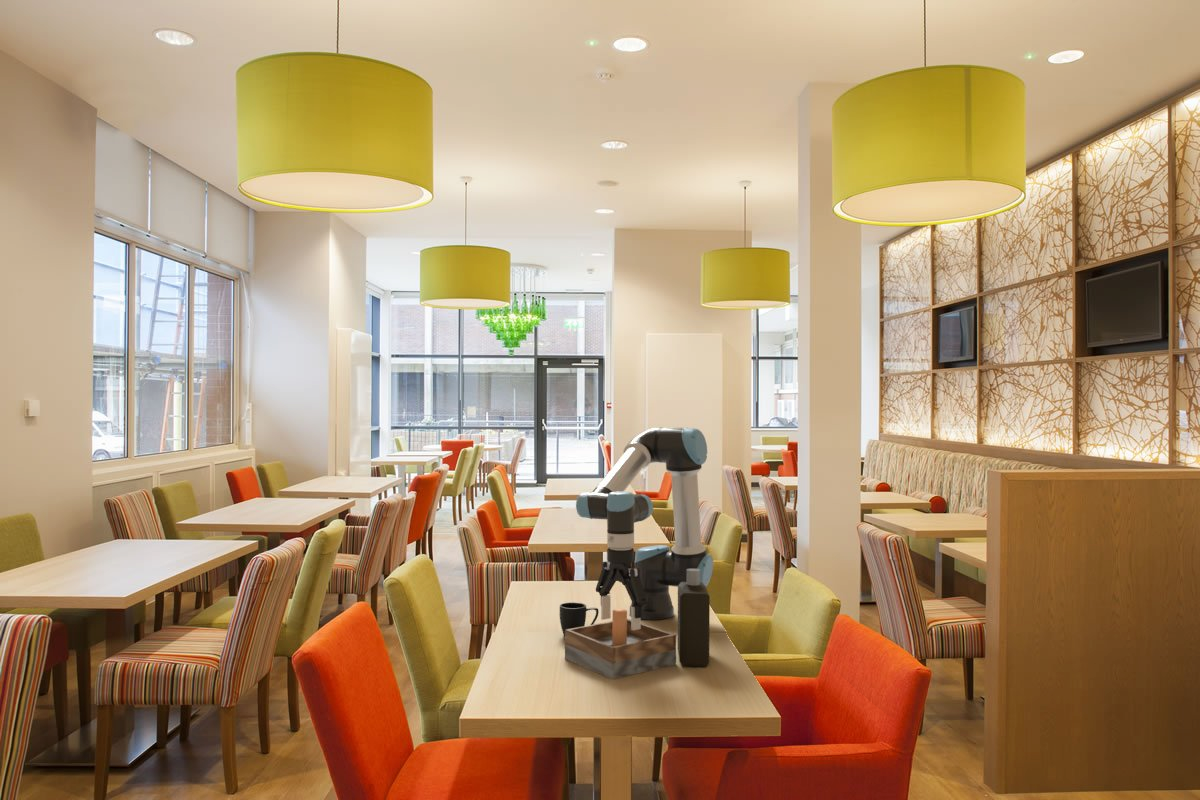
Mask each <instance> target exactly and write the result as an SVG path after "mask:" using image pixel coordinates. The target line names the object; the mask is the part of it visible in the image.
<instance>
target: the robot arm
mask: <svg viewBox="0 0 1200 800" xmlns="http://www.w3.org/2000/svg"><path fill="white" fill-rule="evenodd" d="M707 455H708V445H707V441H706V438H705V435H704V433H703V432H702V431H701V430H700V429H699V428H691V427H662V426H659V427H658V426H657V427H652V428H649V429H647V430H645V431H642V432H641V433H639V434H637V435H636V436H635V437H633V438H632V439H631V440H630V441H629V442H628V443H627V444H626V445H625V447H624V448H623V454H622V455H620V457H619V459H618V460H617V461H616V462H615V463H614V465H613V466H612V467H611V468H610V470H609V471H608V472H607V473H606V474H605V476H604V477H603V478H602V479H601V481H600V482H599V483H598V484H597V486H596V487H595V488H594V489H593V490H592V491H591V492H589V491H587V492H582V493H580V494H579V495H577V499H576V500H575V501H576V503H575V509H576V513H577V514H578V516H579V517H581V518H583V519H584V518H585V519H590V520H606V522H607V523H606V525H607V527H606V528H607V529H606V533H607V534H606V537H607V539H606V540H607V541H606V542H607V543H606V545H607V547H608V548H607V549H606V561H603V562H602V566H601V571H600V574H599V577H598V580H597V584H596V588H595V591H596V593H599V596H600V606H601V607H600V608H601V620H602V621H603V620H608V619H611V617H612V616H611V613H612V612H611V610H612V609H611V605H612V604H611V590H612V589H613V587H614V586H615V584H616V582H619V583H621V585H623V586H624V588H625V589H626V591H627V594H628V596H629V598H630V600H631V602H630V606H629V615H630V620H631V630H638V629H641V620H653V621H654V620H665V619H666V620H667V619H670V618H672V617H674V615H675V613H674V612H675V609H674V606H673V601H672V598H671V594H670V587H676V588H678V585H679V584H680V583H681V582H687V569H690V568H691V569H700V582H702V583H703V584H704V585H705V586H706V587H707V586H708V585H709V582H710V580H711V578H712V574H713V569H714V558H713V556H712V554H710V553H707V547H706V545H704V543H702V538H701V537H702V534H701V532H702V531H701V518H700V517H701V516H700V514H701V513H700V502H699V501H700V500H699V499H700V497H699V483H698V482H699V480H698V473H700V471H701V470H702V467H703V466H702V465H704V464H705V463H706V461H707V457H708V456H707ZM653 463H660V464H661V463H665V470H666V471H667V472H668V473H670V475H671V480H670V481H671V491H672V493H671V494H672V511H673V513H672V514H673V529H674V542H675V543H674V544H673V546H672V547H671V548H670V546H669V545H665V544H663V545H662V544H658V545H649V546H643V547H640V548H638V549H636V551H635V549H634V548H633V547H634V546H635V524H636V523H639V522H643V521H644V520H647V519H648V518H649V517H651V515H652V514H653V510H654V504H653V501H652V500H651V498H650V497H649V496H647V495H646V494H642V493H641V494H639V493H637V494H634V493H633V492H631V491H625V490H627V488H629V485H630V484H631V483H632V482H633V480H635V478H636V476H637V475H638V474H639V473H640V471H641V470H642V469H645V468H647V467H648V466H649V465H650V464H653ZM632 563H634V568H633V567H632Z"/></svg>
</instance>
